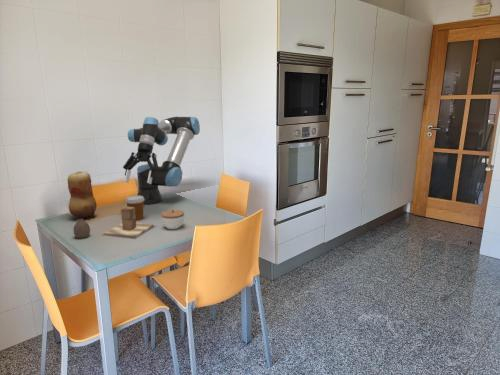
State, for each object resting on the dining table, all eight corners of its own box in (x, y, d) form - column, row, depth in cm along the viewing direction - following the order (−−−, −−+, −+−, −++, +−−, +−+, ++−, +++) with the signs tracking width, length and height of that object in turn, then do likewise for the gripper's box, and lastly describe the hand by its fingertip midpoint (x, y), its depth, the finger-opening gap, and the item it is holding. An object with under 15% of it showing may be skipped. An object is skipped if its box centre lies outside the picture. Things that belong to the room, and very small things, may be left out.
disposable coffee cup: (123, 220, 187) (121, 198, 184) (136, 215, 195) (134, 194, 192) (136, 223, 183) (134, 200, 180) (149, 218, 191) (148, 196, 188)
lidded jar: (182, 231, 171) (181, 213, 169) (160, 231, 171) (158, 213, 169) (186, 224, 182) (185, 206, 179) (165, 224, 182) (164, 206, 180)
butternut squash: (65, 222, 186) (59, 174, 180) (76, 214, 199) (71, 169, 193) (92, 221, 186) (87, 174, 180) (102, 213, 199) (97, 169, 193)
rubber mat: (125, 223, 183) (125, 222, 183) (156, 226, 178) (156, 226, 178) (101, 235, 166) (101, 235, 166) (135, 239, 161) (135, 239, 161)
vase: (86, 233, 169) (84, 215, 167) (93, 237, 165) (91, 218, 163) (71, 237, 164) (69, 219, 162) (78, 241, 160) (76, 222, 158)
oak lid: (125, 223, 182) (123, 202, 179) (153, 226, 177) (152, 205, 175) (104, 234, 167) (102, 211, 164) (134, 238, 162) (132, 214, 160)
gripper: (122, 141, 192) (112, 179, 186) (163, 142, 185) (155, 181, 179) (130, 147, 199) (121, 183, 193) (170, 148, 192) (162, 186, 186)
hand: (137, 182), depth 186 cm, fingers open, 13 cm apart
